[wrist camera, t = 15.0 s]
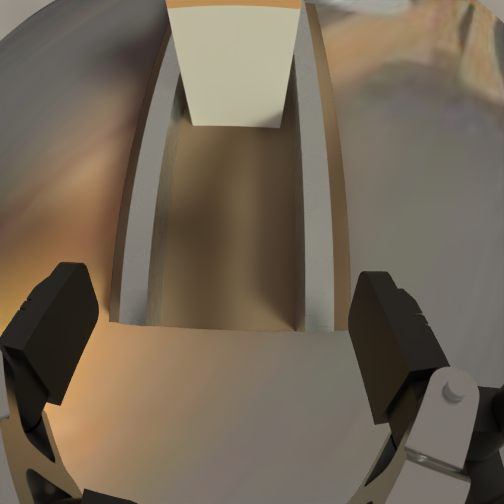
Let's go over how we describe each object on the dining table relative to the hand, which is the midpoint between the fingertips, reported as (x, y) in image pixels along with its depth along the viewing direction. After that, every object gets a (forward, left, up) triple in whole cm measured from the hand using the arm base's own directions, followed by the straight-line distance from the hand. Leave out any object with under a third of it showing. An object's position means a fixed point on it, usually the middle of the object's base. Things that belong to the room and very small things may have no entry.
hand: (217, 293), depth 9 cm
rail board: (0, +12, -7) cm, 14 cm away
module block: (0, +12, -6) cm, 13 cm away
